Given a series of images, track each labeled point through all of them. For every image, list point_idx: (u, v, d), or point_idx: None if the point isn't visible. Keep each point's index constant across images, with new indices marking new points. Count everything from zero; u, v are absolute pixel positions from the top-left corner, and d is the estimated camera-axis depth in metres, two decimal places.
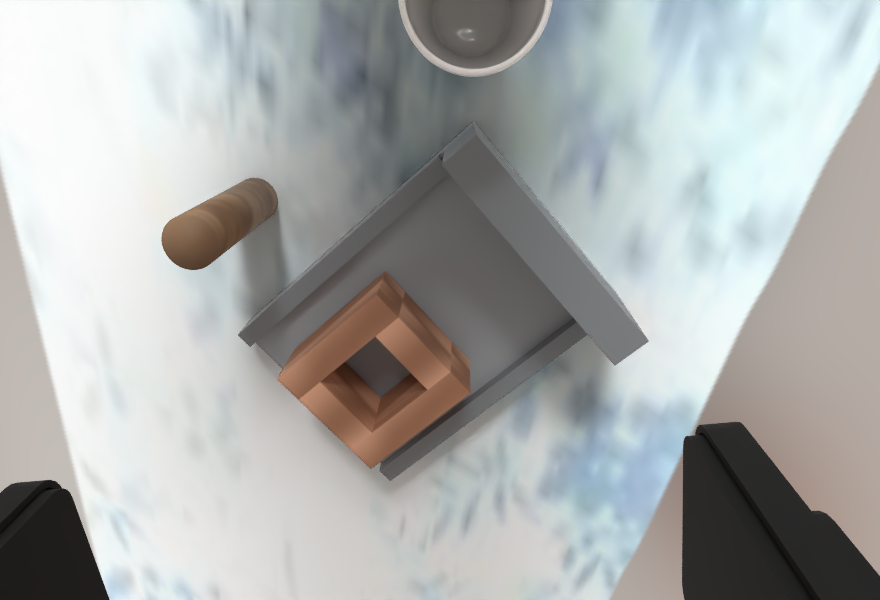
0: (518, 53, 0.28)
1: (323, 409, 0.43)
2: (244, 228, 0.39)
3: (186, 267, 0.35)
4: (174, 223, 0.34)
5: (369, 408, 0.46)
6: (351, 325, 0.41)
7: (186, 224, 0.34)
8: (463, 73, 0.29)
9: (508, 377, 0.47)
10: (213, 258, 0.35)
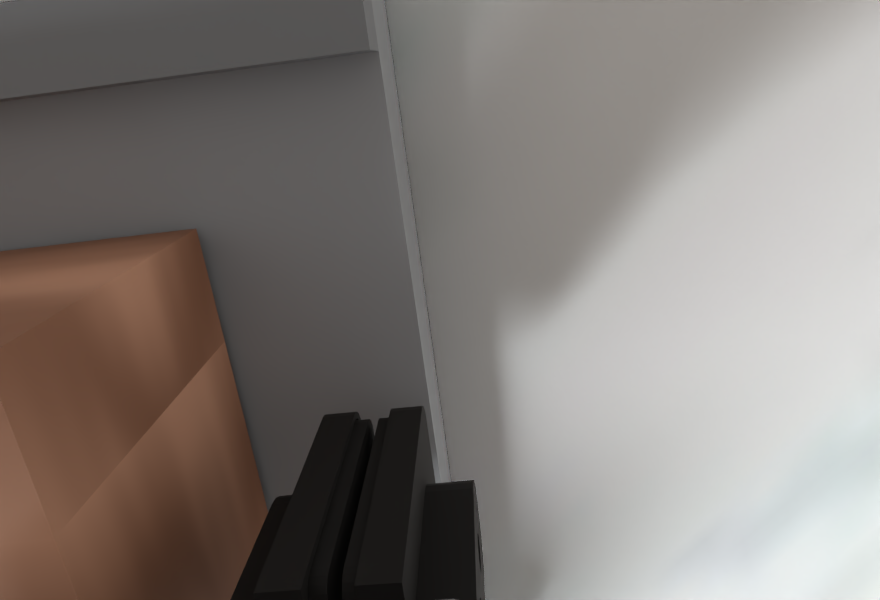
0: None
1: None
2: None
3: None
4: None
5: None
6: None
7: None
8: None
9: None
10: None
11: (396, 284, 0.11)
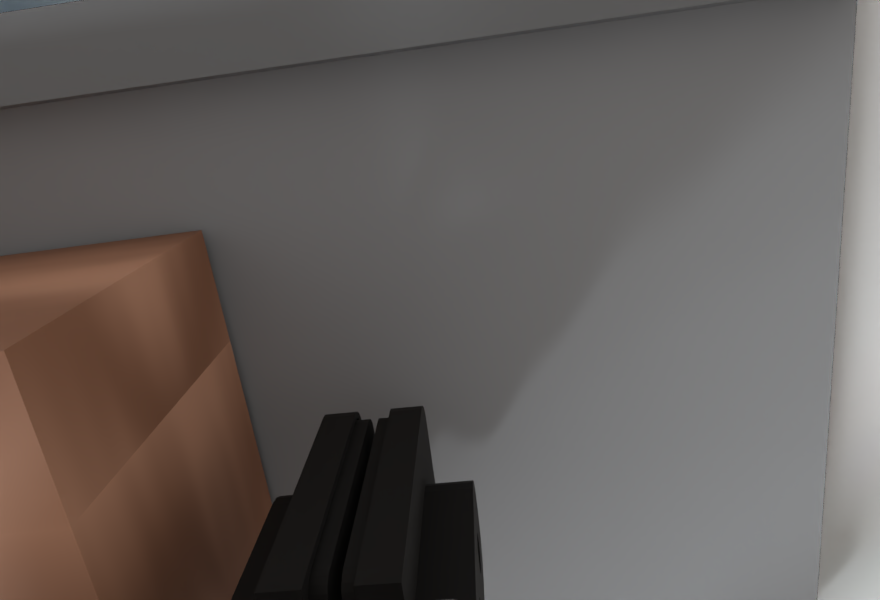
0: None
1: None
2: None
3: None
4: None
5: None
6: None
7: None
8: None
9: (2, 88, 0.09)
10: None
11: (825, 231, 0.11)
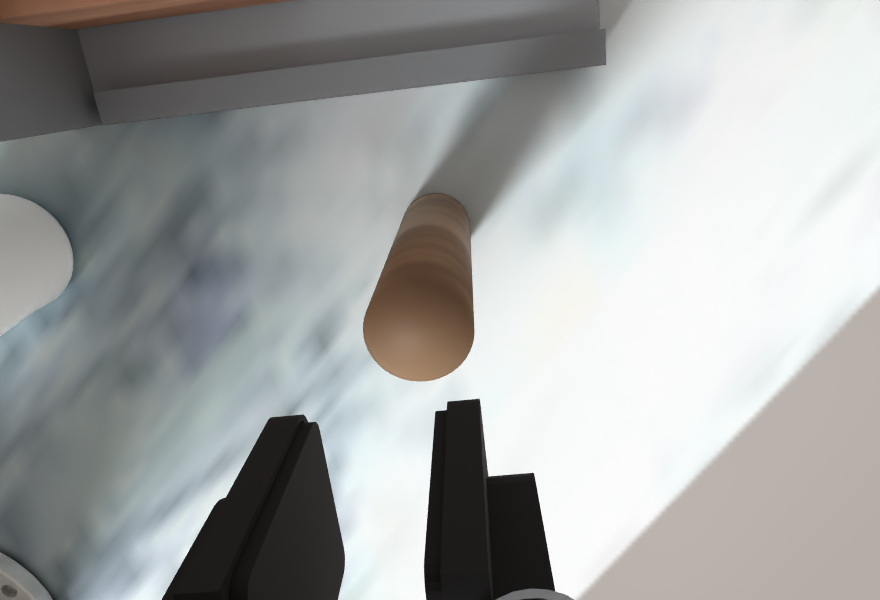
0: None
1: None
2: (396, 247, 0.22)
3: (458, 299, 0.17)
4: (417, 373, 0.18)
5: None
6: None
7: (399, 359, 0.18)
8: None
9: None
10: (400, 282, 0.17)
11: None
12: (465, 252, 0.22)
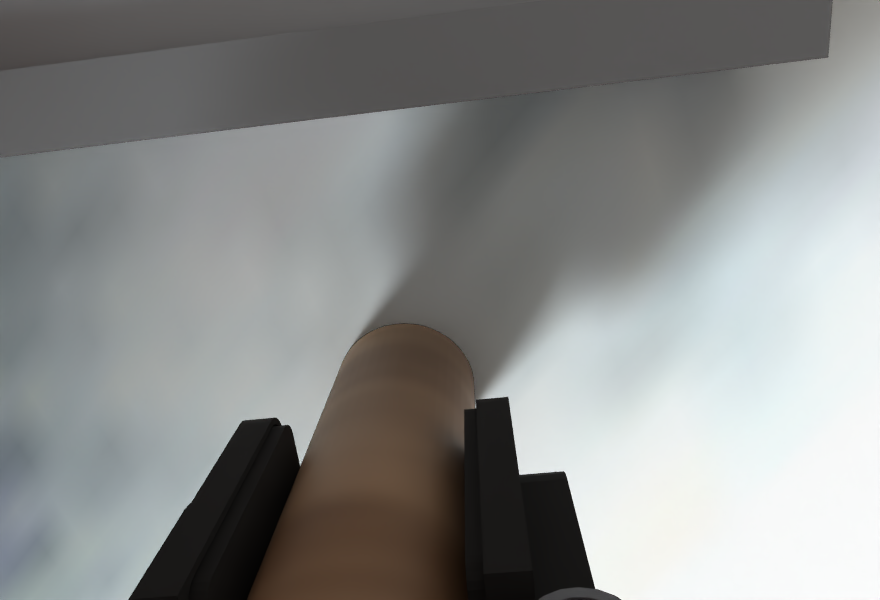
0: None
1: None
2: None
3: None
4: None
5: None
6: None
7: None
8: None
9: None
10: None
11: None
12: None
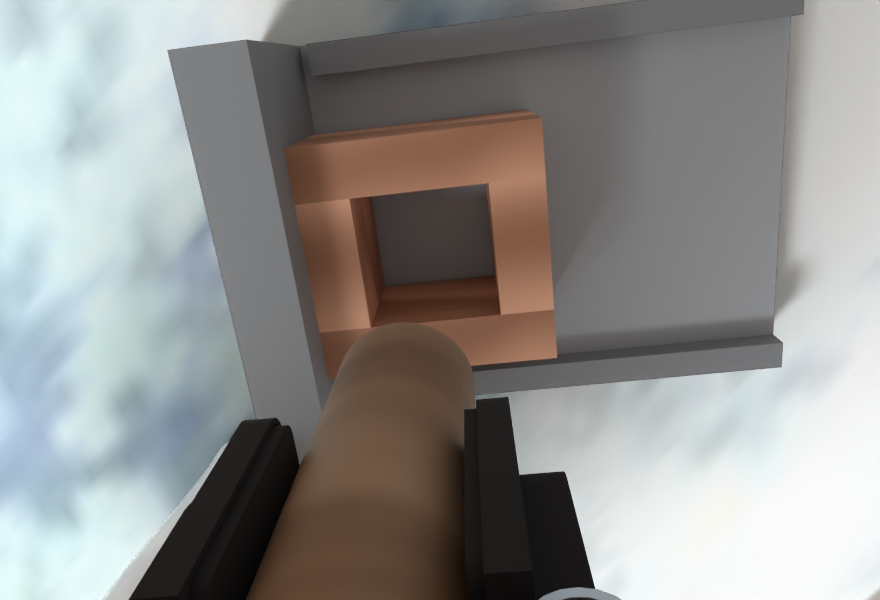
0: None
1: (530, 271, 0.24)
2: None
3: None
4: None
5: None
6: None
7: None
8: None
9: (473, 49, 0.25)
10: None
11: (778, 113, 0.27)
12: None
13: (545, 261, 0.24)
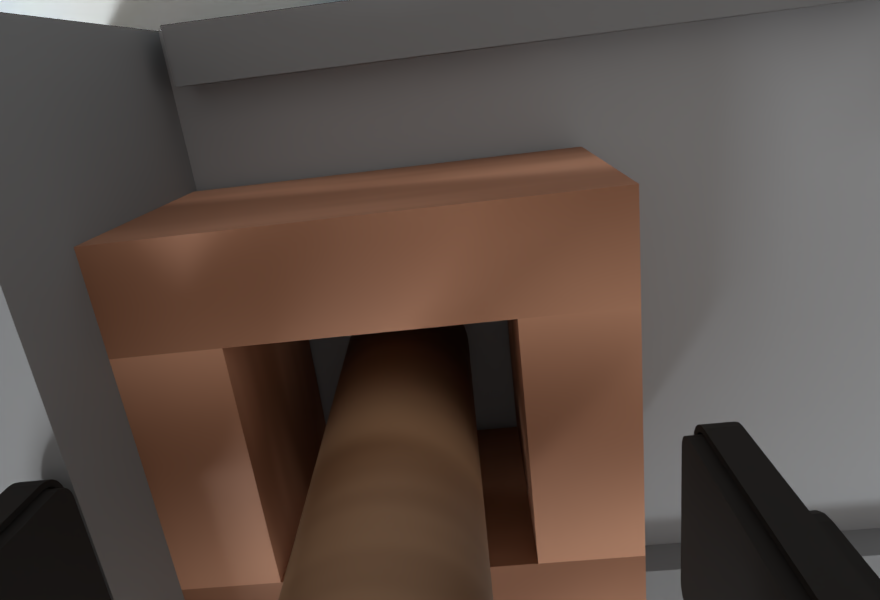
0: None
1: (600, 487, 0.12)
2: (315, 520, 0.09)
3: None
4: None
5: None
6: None
7: None
8: None
9: (482, 35, 0.13)
10: None
11: None
12: (474, 512, 0.10)
13: (632, 469, 0.12)
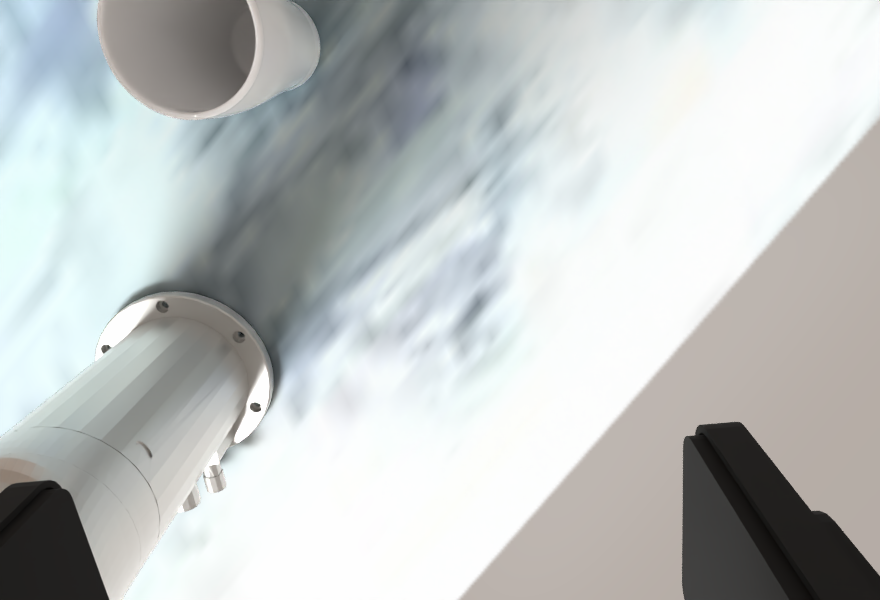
0: None
1: None
2: None
3: None
4: None
5: None
6: None
7: None
8: None
9: None
10: None
11: None
12: None
13: None
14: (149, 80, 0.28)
